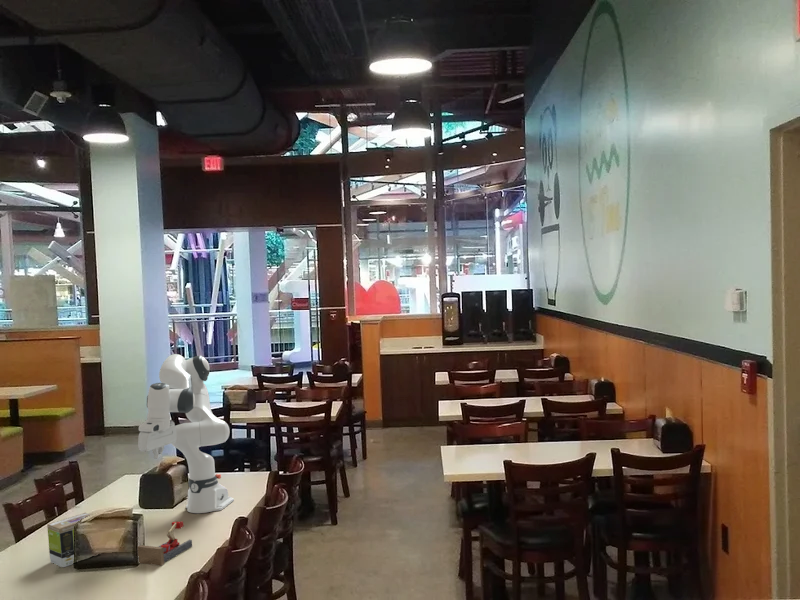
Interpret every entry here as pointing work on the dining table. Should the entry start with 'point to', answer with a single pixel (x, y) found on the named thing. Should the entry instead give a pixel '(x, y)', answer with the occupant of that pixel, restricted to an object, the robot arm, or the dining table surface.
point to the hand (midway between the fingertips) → (157, 457)
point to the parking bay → (160, 553)
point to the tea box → (63, 540)
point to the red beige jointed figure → (172, 537)
